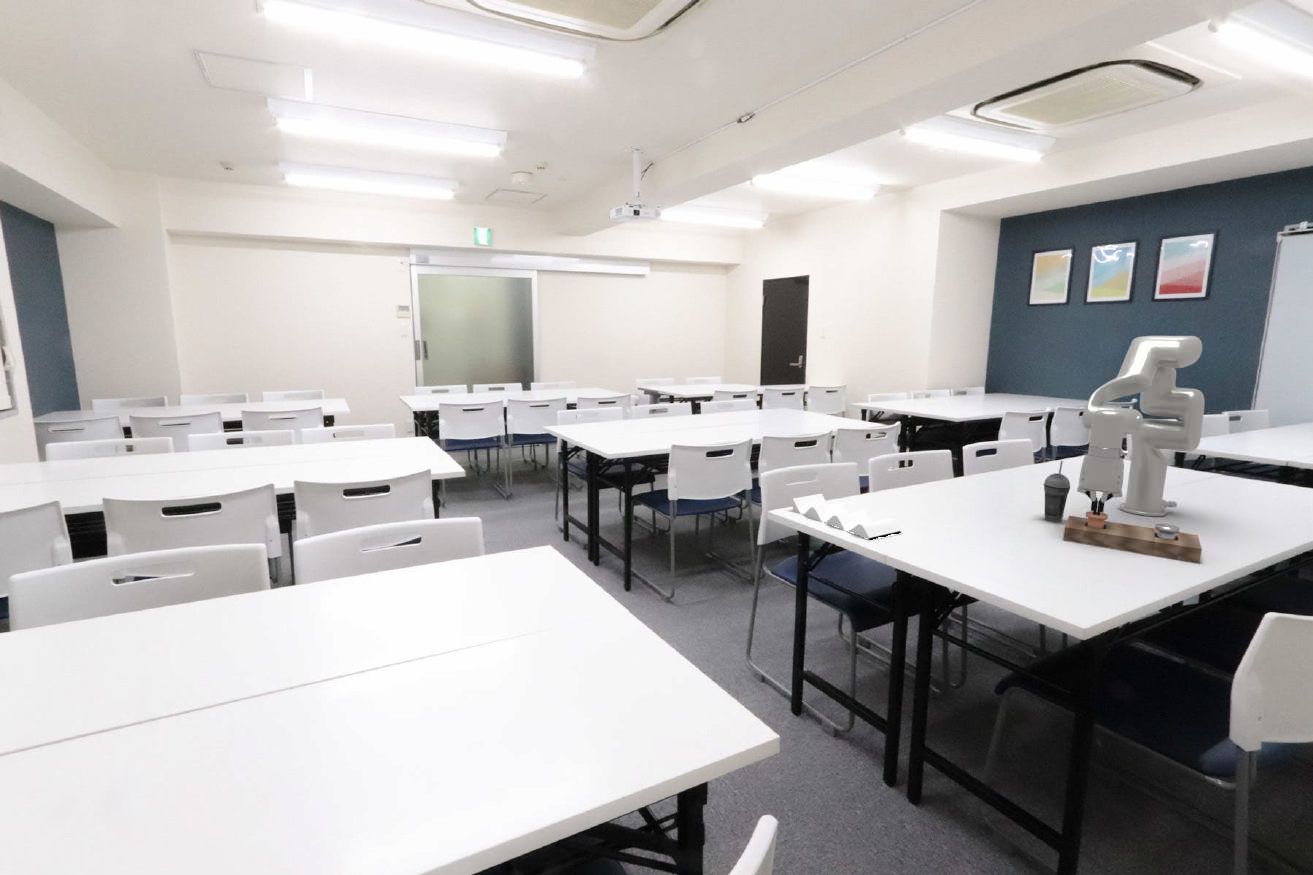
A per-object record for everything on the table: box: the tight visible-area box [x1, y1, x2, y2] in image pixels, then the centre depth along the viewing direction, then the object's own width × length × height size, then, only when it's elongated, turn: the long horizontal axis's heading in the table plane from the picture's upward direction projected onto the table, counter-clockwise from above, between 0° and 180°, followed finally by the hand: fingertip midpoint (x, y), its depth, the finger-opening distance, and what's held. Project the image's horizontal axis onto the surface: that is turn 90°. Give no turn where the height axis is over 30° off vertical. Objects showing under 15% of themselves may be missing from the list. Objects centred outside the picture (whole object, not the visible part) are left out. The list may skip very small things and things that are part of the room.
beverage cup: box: [1043, 460, 1071, 524], centre depth 193 cm, size 7×7×20 cm
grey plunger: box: [1154, 523, 1181, 540], centre depth 167 cm, size 5×5×6 cm
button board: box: [1062, 515, 1203, 564], centre depth 173 cm, size 30×14×4 cm, turn 52°
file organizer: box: [792, 493, 902, 541], centre depth 195 cm, size 13×35×5 cm, turn 28°
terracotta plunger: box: [1085, 510, 1109, 529], centre depth 177 cm, size 5×5×6 cm
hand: (1096, 513), depth 176 cm, fingers closed
